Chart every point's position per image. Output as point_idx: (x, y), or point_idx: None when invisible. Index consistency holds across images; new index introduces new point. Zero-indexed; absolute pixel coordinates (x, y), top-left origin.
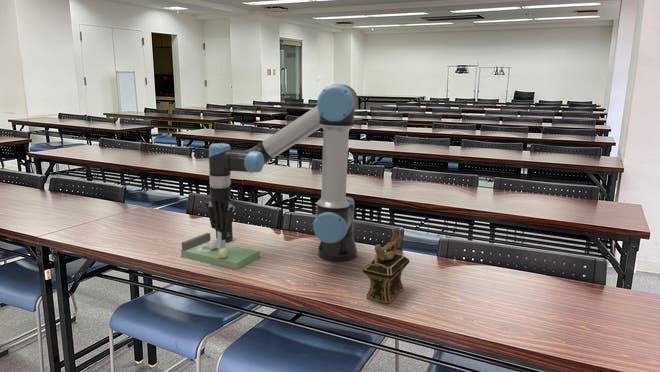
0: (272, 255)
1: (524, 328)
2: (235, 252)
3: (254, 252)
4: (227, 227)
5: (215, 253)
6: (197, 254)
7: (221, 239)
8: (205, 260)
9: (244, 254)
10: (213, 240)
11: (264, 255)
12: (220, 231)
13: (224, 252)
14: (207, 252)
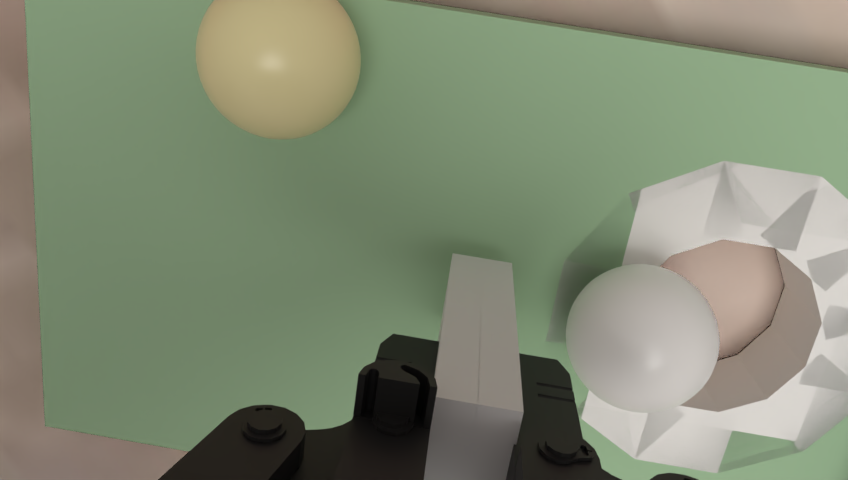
0: (13, 470)
1: None
2: (273, 294)
3: (68, 371)
4: (179, 460)
5: (502, 168)
6: (753, 56)
7: (440, 336)
8: (588, 29)
9: (129, 272)
10: (636, 366)
11: (81, 447)
12: (401, 376)
13: (210, 12)
14: (633, 161)
